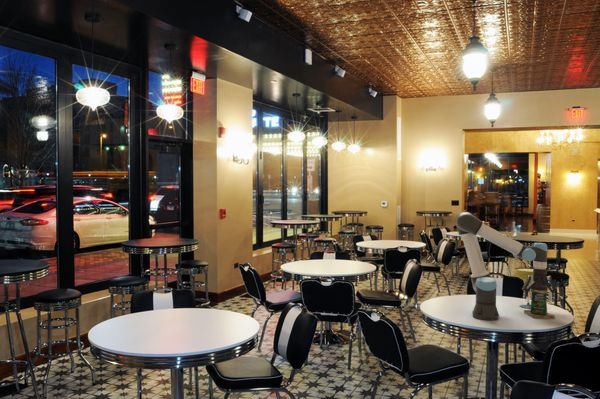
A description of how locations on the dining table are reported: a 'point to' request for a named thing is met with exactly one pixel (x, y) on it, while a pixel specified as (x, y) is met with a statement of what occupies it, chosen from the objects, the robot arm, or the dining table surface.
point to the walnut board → (538, 315)
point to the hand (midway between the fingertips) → (538, 302)
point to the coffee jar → (539, 299)
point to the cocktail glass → (523, 275)
